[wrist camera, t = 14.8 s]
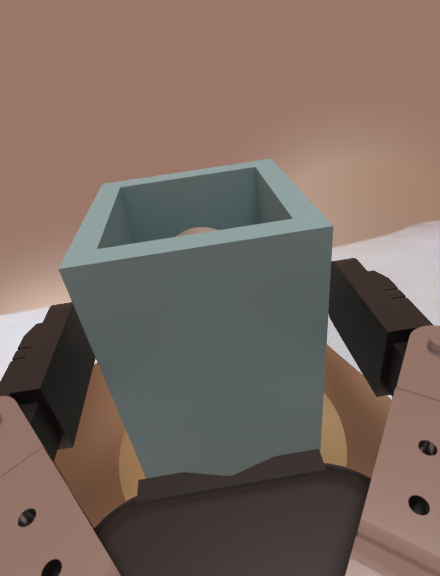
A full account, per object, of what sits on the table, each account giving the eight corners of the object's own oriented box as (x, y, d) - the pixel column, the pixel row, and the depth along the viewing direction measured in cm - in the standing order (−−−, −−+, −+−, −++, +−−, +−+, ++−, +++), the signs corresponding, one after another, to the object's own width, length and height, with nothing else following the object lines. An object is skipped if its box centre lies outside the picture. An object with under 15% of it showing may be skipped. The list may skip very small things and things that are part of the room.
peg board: (269, 317, 27) (260, 139, 20) (521, 553, 14) (742, 268, 7) (58, 406, 22) (-48, 214, 15) (128, 900, 9) (-405, 1084, 2)
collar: (279, 375, 19) (271, 158, 13) (318, 490, 14) (333, 226, 8) (164, 394, 19) (102, 183, 13) (162, 518, 14) (58, 269, 8)
